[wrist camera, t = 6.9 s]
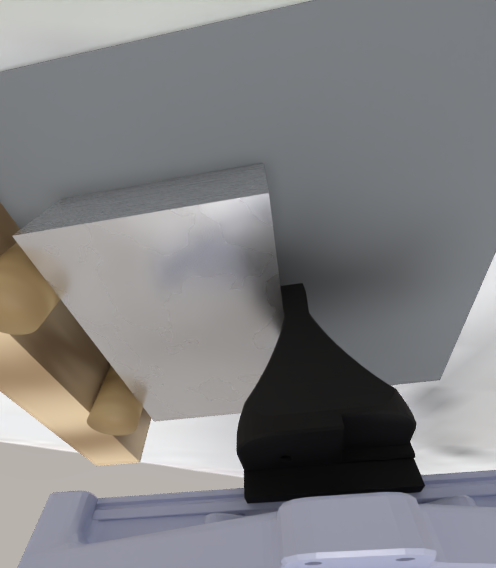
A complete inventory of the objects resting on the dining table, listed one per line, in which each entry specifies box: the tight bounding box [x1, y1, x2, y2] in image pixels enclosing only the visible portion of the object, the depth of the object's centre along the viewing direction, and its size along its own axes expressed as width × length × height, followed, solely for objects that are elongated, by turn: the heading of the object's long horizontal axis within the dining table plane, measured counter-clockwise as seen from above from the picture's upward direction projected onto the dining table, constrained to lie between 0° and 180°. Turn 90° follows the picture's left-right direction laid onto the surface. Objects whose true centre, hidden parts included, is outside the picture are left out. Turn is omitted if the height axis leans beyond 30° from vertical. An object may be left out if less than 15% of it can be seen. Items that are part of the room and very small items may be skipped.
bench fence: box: [0, 202, 151, 466], centre depth 14 cm, size 20×5×4 cm, turn 10°
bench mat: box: [0, 0, 496, 385], centre depth 15 cm, size 20×26×1 cm
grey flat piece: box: [13, 163, 284, 421], centre depth 13 cm, size 12×8×3 cm, turn 9°
